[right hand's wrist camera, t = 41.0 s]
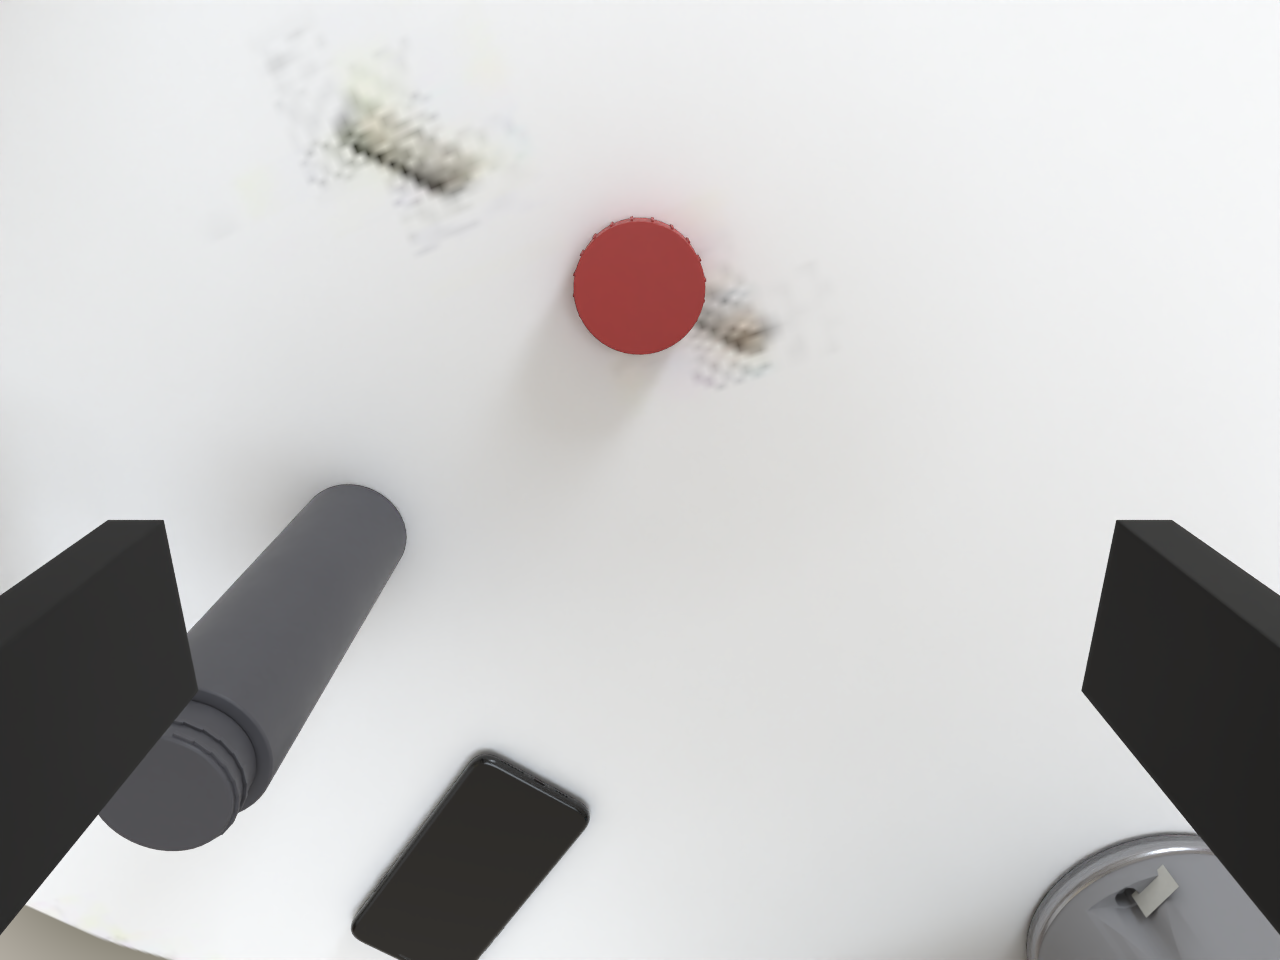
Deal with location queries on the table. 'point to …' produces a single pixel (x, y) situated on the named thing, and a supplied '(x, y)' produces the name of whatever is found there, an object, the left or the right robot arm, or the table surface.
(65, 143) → the table surface
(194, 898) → the table surface
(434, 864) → the smartphone
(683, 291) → the lid
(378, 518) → the jar
